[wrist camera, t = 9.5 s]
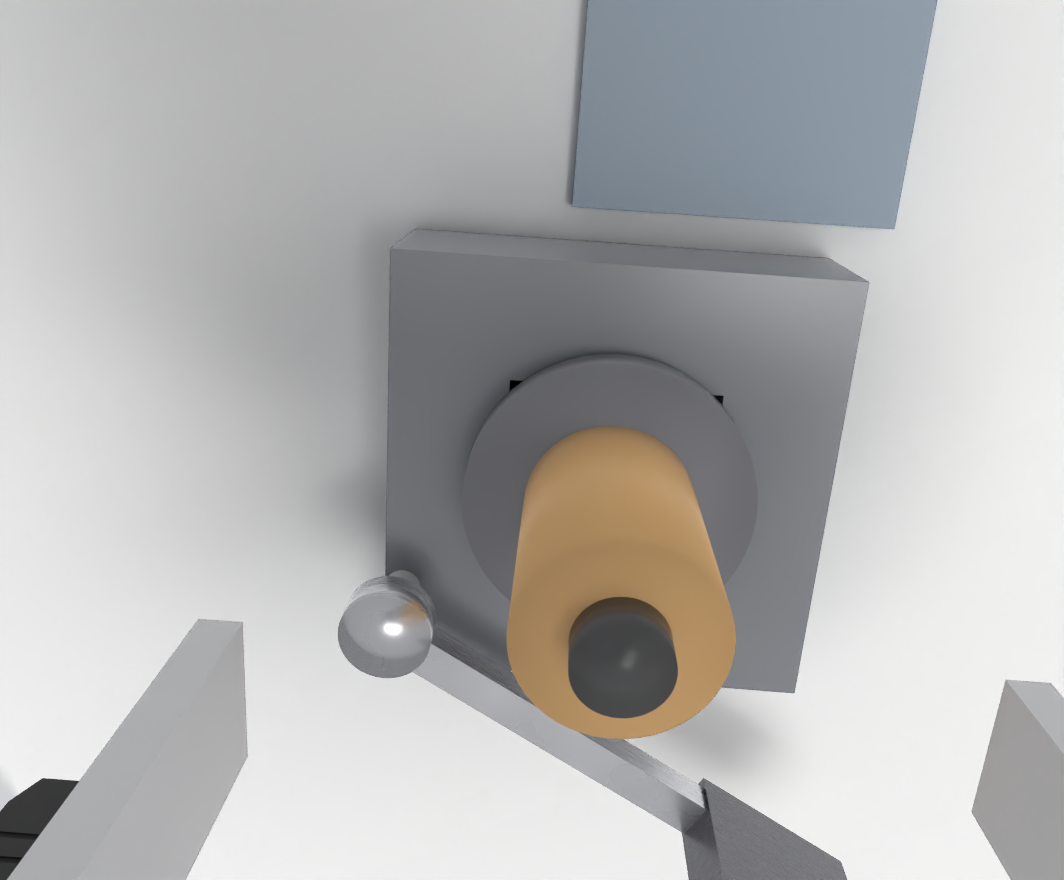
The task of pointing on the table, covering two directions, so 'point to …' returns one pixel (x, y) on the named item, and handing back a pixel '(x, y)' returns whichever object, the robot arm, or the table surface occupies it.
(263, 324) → the table surface
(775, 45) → the mat
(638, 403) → the plug
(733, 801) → the grey lever
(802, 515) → the socket block
